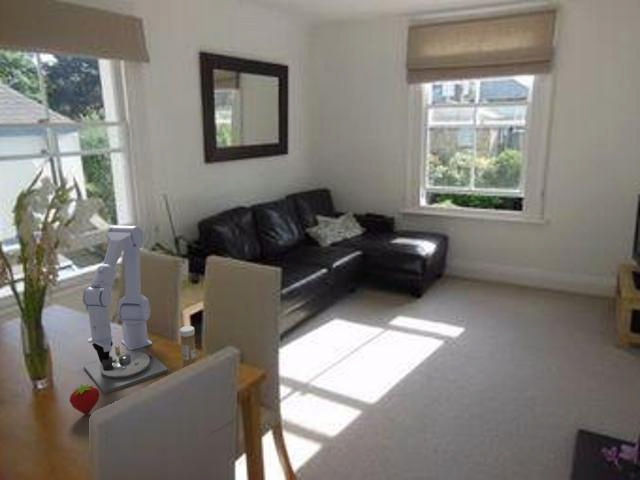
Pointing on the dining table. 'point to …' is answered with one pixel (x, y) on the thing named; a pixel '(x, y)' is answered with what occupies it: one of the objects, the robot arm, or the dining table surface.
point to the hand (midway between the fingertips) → (104, 363)
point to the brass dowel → (117, 349)
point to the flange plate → (125, 364)
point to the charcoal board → (115, 384)
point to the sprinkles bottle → (188, 345)
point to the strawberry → (84, 398)
